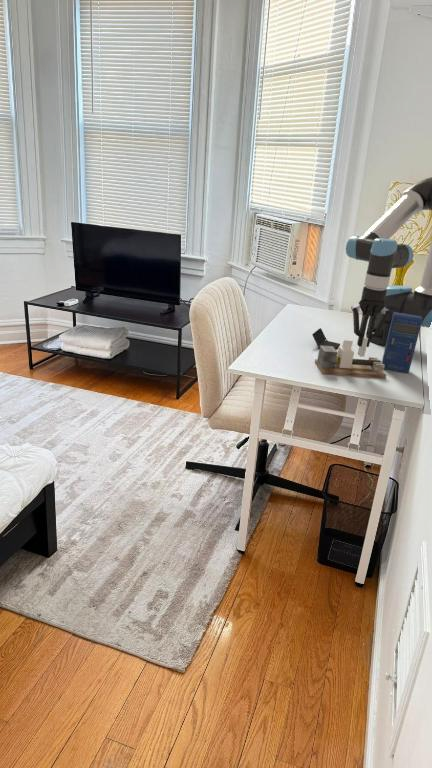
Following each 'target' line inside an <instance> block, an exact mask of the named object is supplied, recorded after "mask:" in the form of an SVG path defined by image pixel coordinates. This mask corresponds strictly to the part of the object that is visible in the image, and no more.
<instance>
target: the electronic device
mask: <svg viewBox="0 0 432 768" xmlns="http://www.w3.org/2000/svg"><path fill="white" fill-rule="evenodd" d="M422 320H423V319H422V316H416V315H410V314H403V313H397V312H394V313H393V317H392V321H391V325H390V329H389V334H388V338H387V342H386V346H385V345H384V351H383V355H382V359H381V362H382V363H383V364H384V365H385V366H384V370H389V371H395V372H400V373H406V374H409V373H410V369H411V366H412V365H411V364H412V362H413V357H414V354H415V350H416V346H417V342H418V338H419V335H420V330H421V327H422V326H421V324H422Z"/></svg>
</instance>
